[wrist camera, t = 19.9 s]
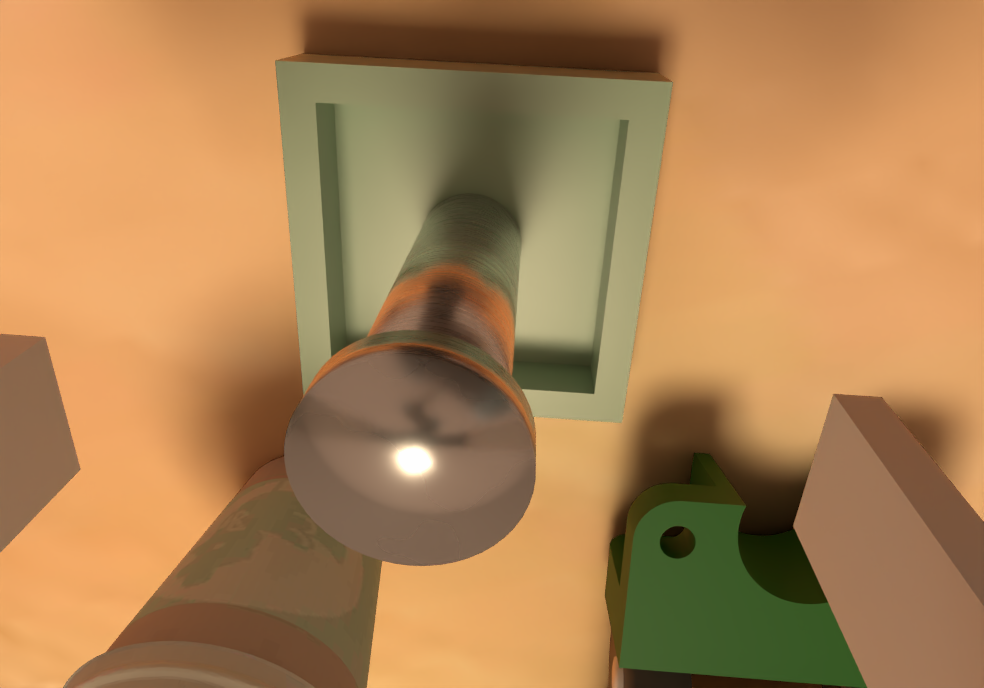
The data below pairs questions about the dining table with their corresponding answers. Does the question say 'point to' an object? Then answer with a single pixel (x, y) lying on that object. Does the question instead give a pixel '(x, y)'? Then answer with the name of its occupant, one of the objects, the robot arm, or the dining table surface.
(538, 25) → the dining table surface
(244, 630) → the coffee cup
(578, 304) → the tray
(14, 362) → the robot arm
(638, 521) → the clamp
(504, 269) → the pin
